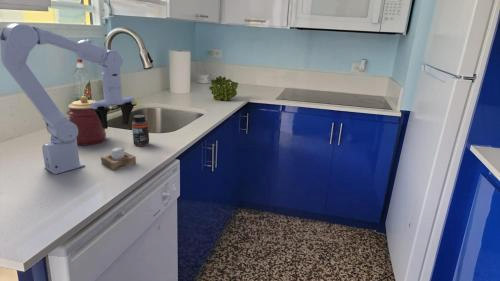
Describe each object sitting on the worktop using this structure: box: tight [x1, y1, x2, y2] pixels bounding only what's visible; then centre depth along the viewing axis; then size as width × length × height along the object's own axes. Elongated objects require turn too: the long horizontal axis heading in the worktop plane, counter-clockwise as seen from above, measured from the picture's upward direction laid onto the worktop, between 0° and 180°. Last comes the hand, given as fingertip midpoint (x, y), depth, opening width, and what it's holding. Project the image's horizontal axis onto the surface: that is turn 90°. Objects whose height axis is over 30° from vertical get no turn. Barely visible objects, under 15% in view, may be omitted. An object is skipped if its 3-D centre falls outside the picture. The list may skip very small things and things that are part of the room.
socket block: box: [100, 151, 137, 171], centre depth 113 cm, size 8×8×3 cm
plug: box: [110, 147, 125, 161], centre depth 113 cm, size 4×4×5 cm
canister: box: [66, 95, 107, 146], centre depth 132 cm, size 13×13×18 cm
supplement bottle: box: [131, 114, 150, 147], centre depth 131 cm, size 6×6×11 cm
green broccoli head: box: [209, 75, 239, 101], centre depth 217 cm, size 18×16×16 cm
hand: (115, 126), depth 118 cm, fingers open, 7 cm apart
